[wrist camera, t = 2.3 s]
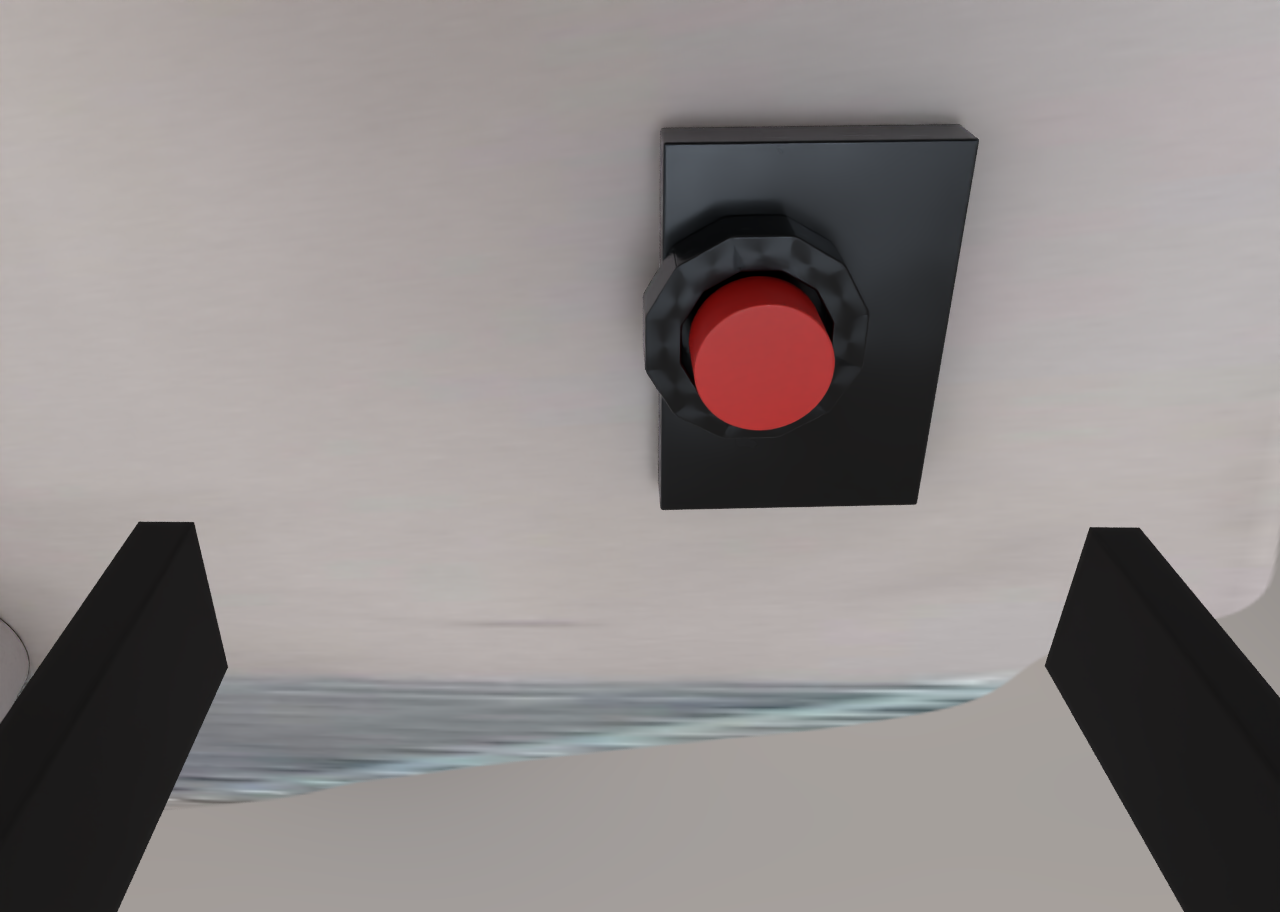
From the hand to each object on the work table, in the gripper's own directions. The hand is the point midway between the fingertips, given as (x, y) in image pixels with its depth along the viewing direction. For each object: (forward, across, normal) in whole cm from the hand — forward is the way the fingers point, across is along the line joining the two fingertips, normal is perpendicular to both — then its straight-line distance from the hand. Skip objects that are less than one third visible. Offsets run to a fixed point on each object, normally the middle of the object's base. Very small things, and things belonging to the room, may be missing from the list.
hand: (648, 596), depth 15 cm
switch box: (+22, +7, -5) cm, 23 cm away
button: (+18, +5, -4) cm, 19 cm away
